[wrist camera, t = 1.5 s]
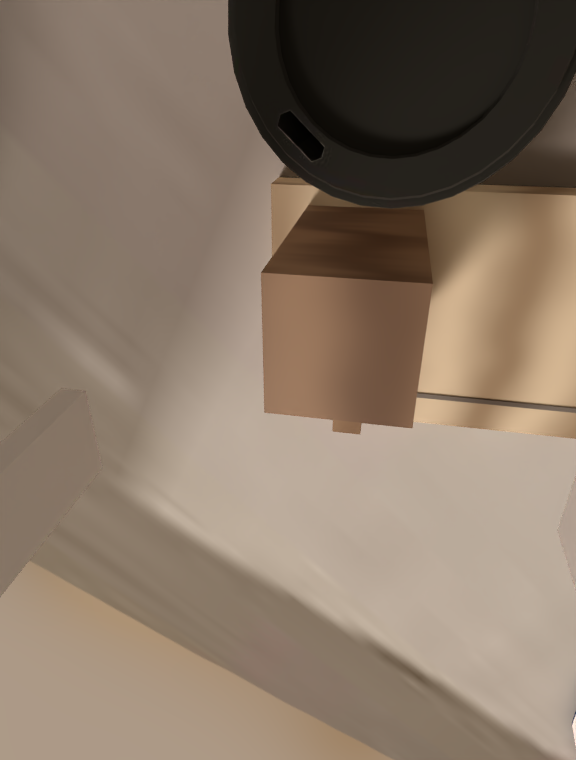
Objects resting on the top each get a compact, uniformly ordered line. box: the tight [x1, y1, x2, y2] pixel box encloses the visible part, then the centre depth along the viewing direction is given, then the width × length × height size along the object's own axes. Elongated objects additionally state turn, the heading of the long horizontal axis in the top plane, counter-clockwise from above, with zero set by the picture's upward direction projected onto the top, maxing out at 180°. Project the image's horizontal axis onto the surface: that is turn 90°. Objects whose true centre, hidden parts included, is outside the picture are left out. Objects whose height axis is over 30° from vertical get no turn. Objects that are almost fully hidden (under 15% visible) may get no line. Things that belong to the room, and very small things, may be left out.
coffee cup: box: [228, 0, 576, 209], centre depth 20 cm, size 10×10×15 cm
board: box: [271, 177, 576, 439], centre depth 31 cm, size 26×14×2 cm, turn 90°
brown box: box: [261, 205, 433, 434], centre depth 27 cm, size 6×12×11 cm, turn 0°
